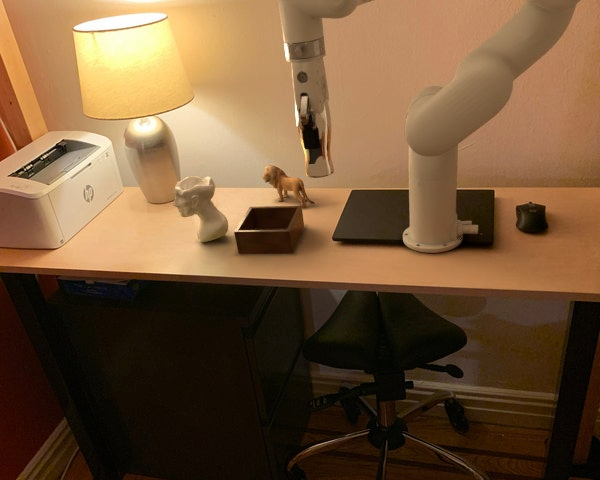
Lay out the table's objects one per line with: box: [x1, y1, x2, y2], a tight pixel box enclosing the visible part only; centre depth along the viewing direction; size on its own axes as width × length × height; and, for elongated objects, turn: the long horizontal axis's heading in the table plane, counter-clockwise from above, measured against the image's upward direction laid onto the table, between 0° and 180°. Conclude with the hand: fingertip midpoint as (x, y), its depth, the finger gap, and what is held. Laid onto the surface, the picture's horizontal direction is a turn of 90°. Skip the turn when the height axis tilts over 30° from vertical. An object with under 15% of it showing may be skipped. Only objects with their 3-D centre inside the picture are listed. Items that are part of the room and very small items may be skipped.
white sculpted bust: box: [172, 175, 229, 243], centre depth 136 cm, size 10×11×15 cm
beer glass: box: [294, 97, 335, 179], centre depth 120 cm, size 7×7×15 cm
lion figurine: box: [261, 164, 316, 209], centre depth 150 cm, size 15×5×9 cm, turn 55°
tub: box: [233, 205, 305, 255], centre depth 134 cm, size 13×13×6 cm
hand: (316, 141), depth 120 cm, fingers closed on beer glass, 7 cm apart
